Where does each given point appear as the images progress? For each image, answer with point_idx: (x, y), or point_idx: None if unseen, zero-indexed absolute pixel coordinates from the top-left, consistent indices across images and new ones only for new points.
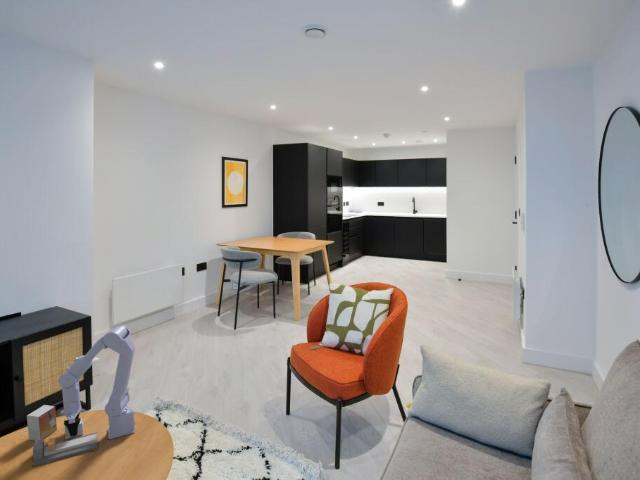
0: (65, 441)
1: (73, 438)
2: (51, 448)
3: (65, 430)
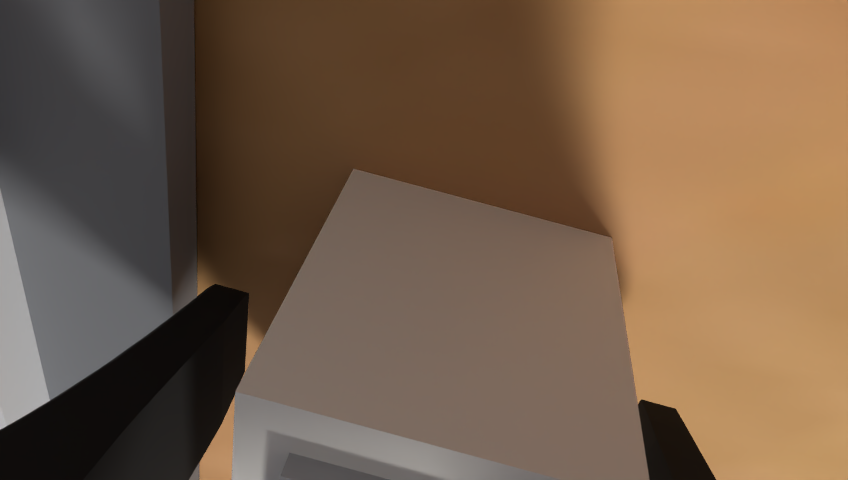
0: (122, 156)
1: (166, 290)
2: None
3: (273, 323)
